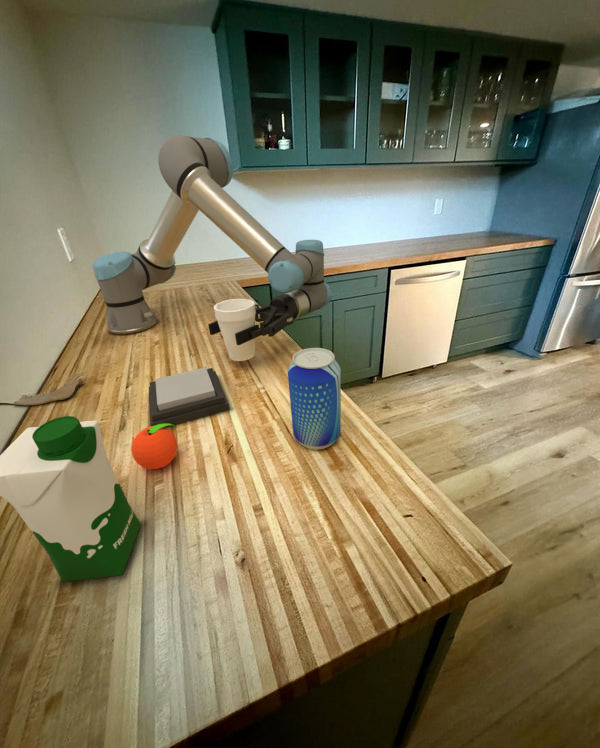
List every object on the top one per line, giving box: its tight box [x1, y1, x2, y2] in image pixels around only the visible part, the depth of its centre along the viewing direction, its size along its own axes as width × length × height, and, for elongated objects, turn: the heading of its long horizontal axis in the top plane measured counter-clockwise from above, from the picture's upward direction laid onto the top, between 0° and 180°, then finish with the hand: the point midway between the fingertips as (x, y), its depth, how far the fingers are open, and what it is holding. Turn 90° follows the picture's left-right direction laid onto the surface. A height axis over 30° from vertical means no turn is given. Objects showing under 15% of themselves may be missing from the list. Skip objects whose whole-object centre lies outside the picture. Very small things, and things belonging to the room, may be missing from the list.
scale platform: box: [154, 367, 216, 411], centre depth 71 cm, size 11×11×2 cm
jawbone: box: [13, 371, 85, 406], centre depth 76 cm, size 9×20×2 cm, turn 119°
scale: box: [148, 367, 230, 428], centre depth 72 cm, size 15×15×3 cm
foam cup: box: [213, 298, 256, 362], centre depth 81 cm, size 10×9×13 cm
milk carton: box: [0, 415, 142, 583], centre depth 38 cm, size 9×9×20 cm
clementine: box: [130, 423, 178, 470], centre depth 55 cm, size 8×7×7 cm
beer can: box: [287, 347, 342, 451], centre depth 56 cm, size 8×8×16 cm
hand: (222, 334), depth 78 cm, fingers closed on foam cup, 9 cm apart
